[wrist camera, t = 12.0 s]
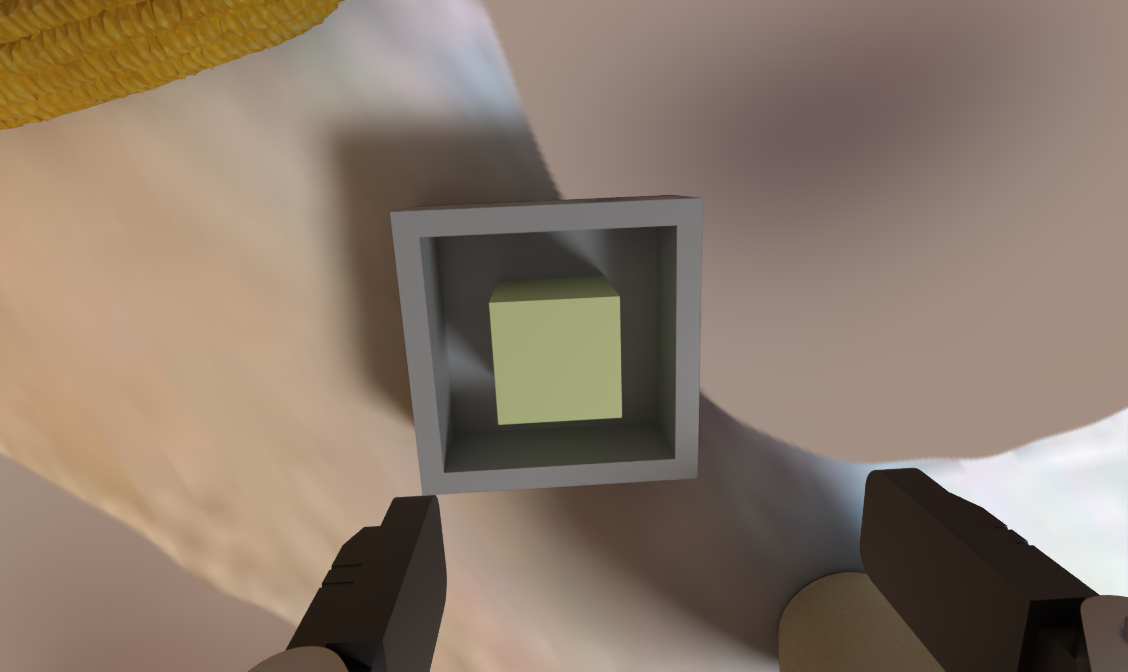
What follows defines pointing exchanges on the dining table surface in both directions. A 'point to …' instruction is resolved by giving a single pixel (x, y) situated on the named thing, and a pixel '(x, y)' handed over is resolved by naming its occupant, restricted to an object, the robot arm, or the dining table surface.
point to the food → (128, 46)
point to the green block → (556, 349)
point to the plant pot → (848, 630)
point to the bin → (465, 355)
